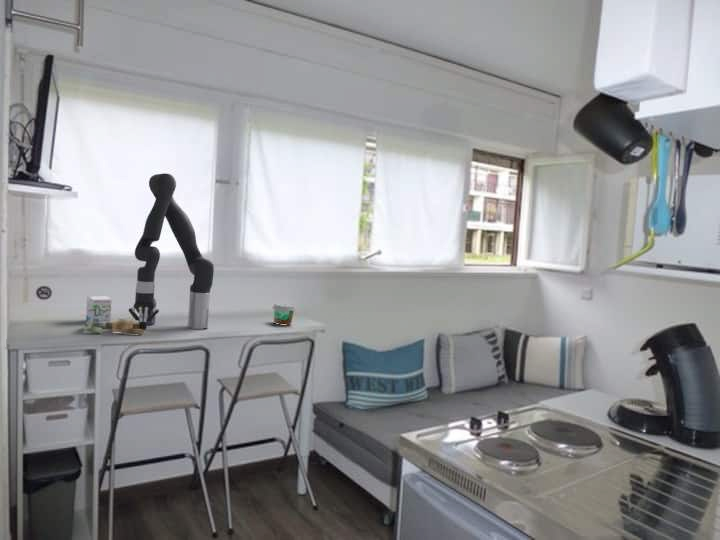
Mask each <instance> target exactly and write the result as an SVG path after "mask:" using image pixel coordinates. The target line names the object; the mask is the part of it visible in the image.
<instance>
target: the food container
mask: <svg viewBox="0 0 720 540" xmlns="http://www.w3.org/2000/svg"><path fill="white" fill-rule="evenodd" d="M272 309H273V323H274V322H276V323H279V324H290V323H291V324H292V321H293V315H294V311H296V310H295V306H286V305H277V304H276V303H275V302H274V304H273V306H272Z"/></svg>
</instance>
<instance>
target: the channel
mask: <svg viewBox="0 0 720 540" xmlns="http://www.w3.org/2000/svg"><path fill="white" fill-rule="evenodd" d="M139 324H140V323H135V322H134V323H133V325H132V329H121V334H138V335H137V336H140V335H143V336H144V331H146V330H147V328H146V329H145V330H143V329H140V328H139ZM112 327H113V322H110V323H109V322H93V319H90V320H88V321H86V322H85V323H84V327H83V334H84V333H101V334H102V329H105V328H112Z"/></svg>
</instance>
